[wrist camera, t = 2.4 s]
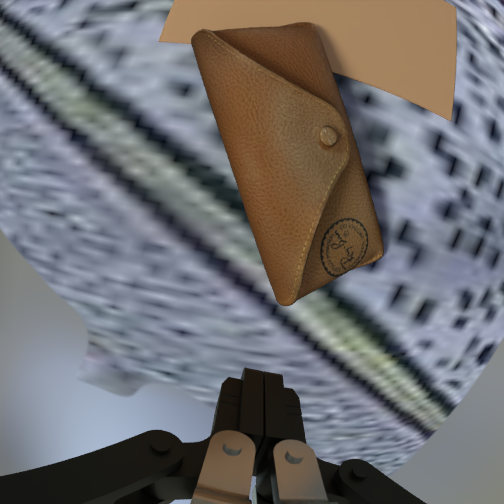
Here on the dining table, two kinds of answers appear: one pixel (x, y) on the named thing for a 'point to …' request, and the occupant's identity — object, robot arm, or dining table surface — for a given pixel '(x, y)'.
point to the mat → (351, 39)
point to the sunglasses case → (290, 153)
